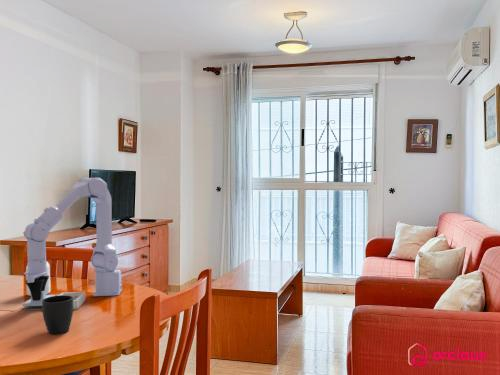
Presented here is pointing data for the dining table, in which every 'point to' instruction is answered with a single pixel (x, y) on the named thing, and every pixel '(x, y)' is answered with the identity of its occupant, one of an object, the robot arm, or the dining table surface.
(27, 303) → the lid
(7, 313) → the dining table surface
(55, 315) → the mug
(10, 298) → the dining table surface
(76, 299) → the tub
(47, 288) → the beverage can
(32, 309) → the mat
